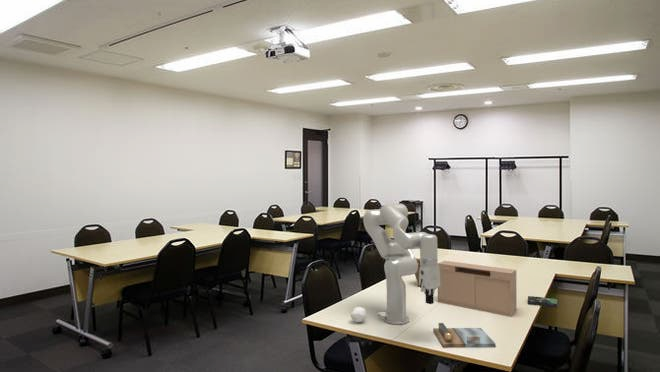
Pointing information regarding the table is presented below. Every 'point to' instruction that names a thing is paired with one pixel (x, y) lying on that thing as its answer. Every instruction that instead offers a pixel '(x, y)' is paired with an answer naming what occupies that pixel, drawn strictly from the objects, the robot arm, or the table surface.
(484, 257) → the table surface
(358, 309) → the white ball
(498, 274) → the box
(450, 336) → the lock bar
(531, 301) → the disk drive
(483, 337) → the plate
